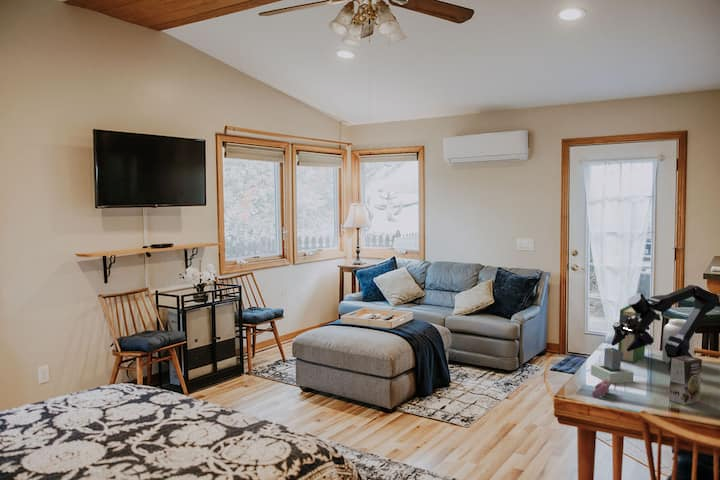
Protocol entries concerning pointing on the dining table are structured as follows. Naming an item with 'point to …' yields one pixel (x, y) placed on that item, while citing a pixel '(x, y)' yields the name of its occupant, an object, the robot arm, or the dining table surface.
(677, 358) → the coffee box
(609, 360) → the gray rectangular block
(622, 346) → the hardback book
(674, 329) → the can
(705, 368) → the dining table surface
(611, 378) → the well block
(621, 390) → the dining table surface
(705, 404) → the dining table surface
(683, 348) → the robot arm
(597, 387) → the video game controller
